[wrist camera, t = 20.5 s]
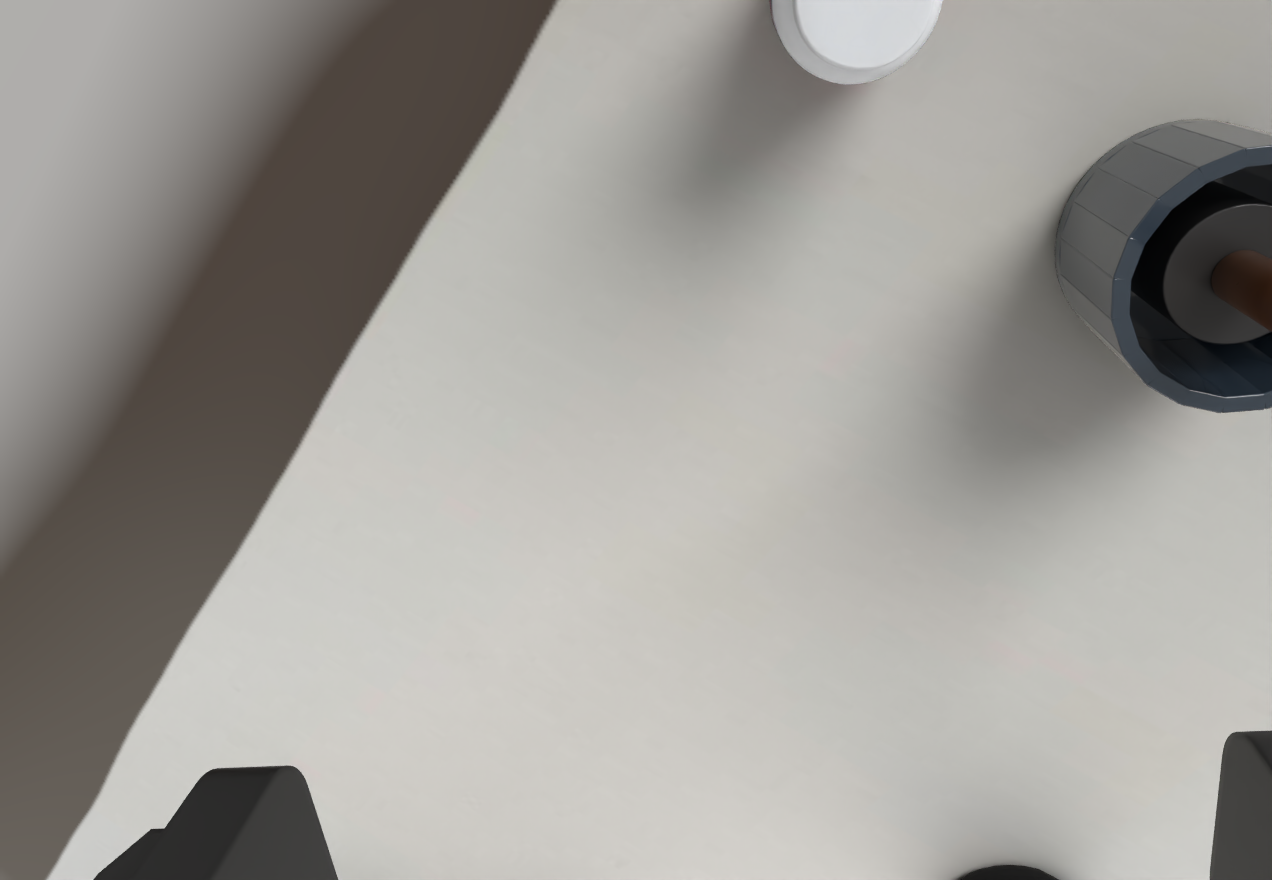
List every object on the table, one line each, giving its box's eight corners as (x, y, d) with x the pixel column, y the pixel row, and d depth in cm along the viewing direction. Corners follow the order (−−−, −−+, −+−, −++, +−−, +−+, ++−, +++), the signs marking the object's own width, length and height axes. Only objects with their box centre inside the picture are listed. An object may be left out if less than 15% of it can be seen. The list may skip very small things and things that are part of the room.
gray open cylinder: (1056, 134, 38) (1118, 162, 32) (1311, 104, 37) (1428, 127, 31) (1051, 357, 42) (1106, 423, 35) (1285, 336, 40) (1385, 400, 34)
